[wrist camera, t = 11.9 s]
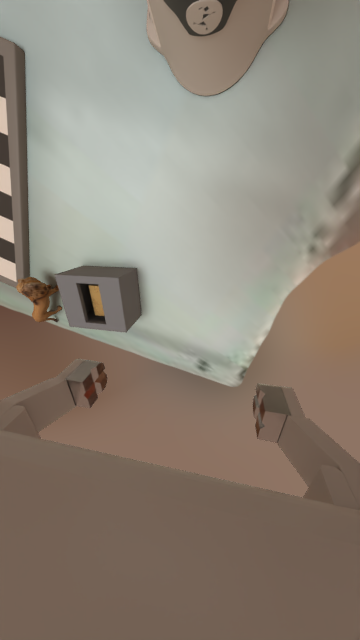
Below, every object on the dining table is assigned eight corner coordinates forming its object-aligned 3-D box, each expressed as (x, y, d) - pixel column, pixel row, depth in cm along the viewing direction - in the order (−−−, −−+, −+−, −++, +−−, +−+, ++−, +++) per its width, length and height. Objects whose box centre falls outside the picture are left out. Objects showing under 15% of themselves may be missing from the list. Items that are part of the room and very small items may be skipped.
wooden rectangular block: (103, 278, 47) (88, 285, 41) (113, 278, 46) (99, 286, 41) (108, 305, 50) (95, 315, 44) (117, 306, 49) (105, 316, 44)
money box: (82, 265, 47) (54, 274, 39) (136, 268, 45) (118, 277, 37) (92, 310, 53) (69, 326, 45) (141, 315, 50) (126, 332, 42)
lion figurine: (40, 269, 50) (6, 278, 42) (58, 273, 50) (27, 282, 42) (51, 319, 57) (23, 334, 49) (67, 323, 57) (42, 339, 49)
